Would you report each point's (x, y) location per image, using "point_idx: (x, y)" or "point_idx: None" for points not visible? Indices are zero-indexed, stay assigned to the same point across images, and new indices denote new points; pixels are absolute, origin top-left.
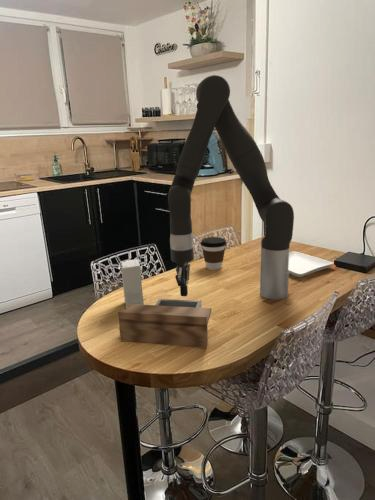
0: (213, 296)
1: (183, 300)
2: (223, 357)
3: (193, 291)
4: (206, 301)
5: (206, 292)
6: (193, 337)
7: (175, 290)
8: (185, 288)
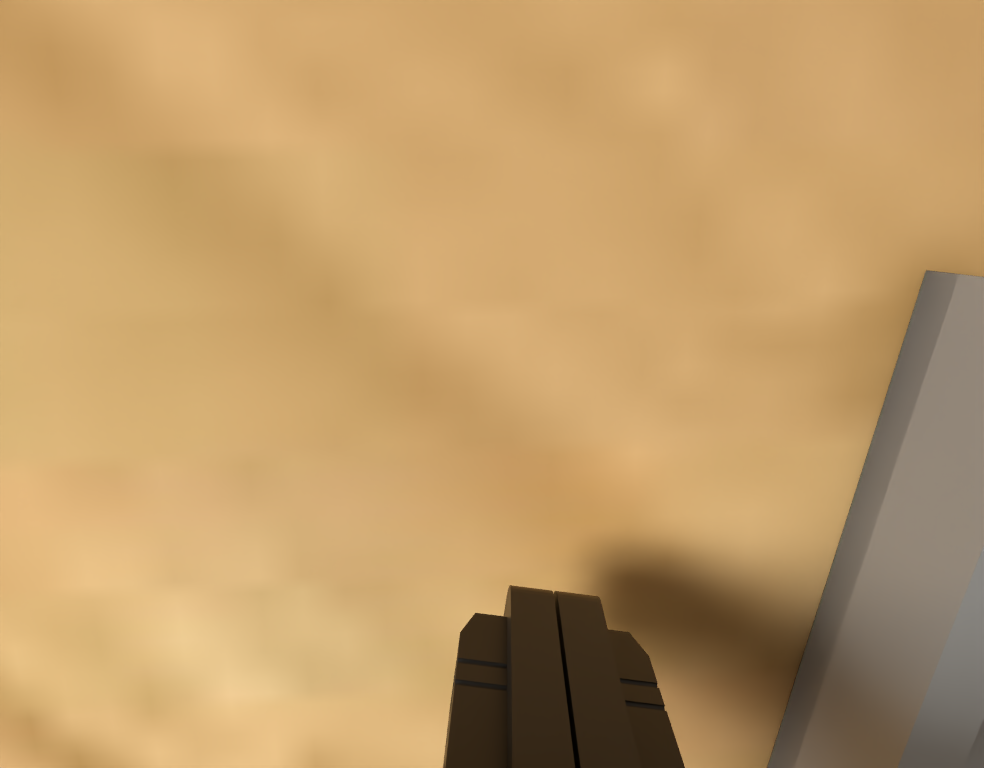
0: (318, 21)
1: (956, 671)
2: None
3: (113, 435)
4: (568, 176)
5: (126, 181)
6: None
7: (114, 715)
8: (626, 751)
